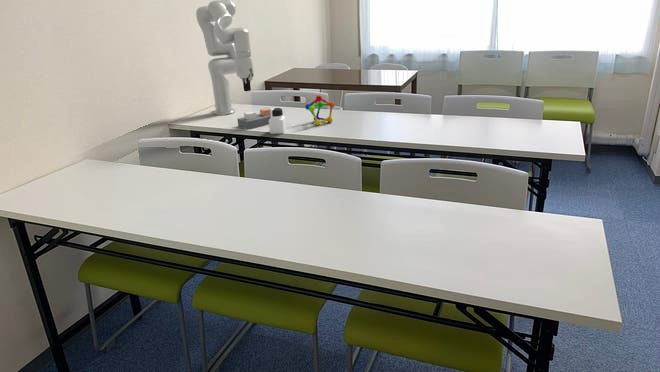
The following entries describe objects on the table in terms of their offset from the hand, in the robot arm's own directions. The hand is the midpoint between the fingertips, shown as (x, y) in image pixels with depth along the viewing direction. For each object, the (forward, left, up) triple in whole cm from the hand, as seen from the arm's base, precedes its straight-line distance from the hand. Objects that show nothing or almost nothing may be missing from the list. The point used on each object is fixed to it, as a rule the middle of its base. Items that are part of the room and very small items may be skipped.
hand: (247, 90), depth 253 cm
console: (0, +5, -19) cm, 19 cm away
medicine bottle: (+21, +3, -19) cm, 28 cm away
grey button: (0, 0, -16) cm, 16 cm away
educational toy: (+23, +28, -19) cm, 41 cm away
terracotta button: (0, +10, -16) cm, 19 cm away
